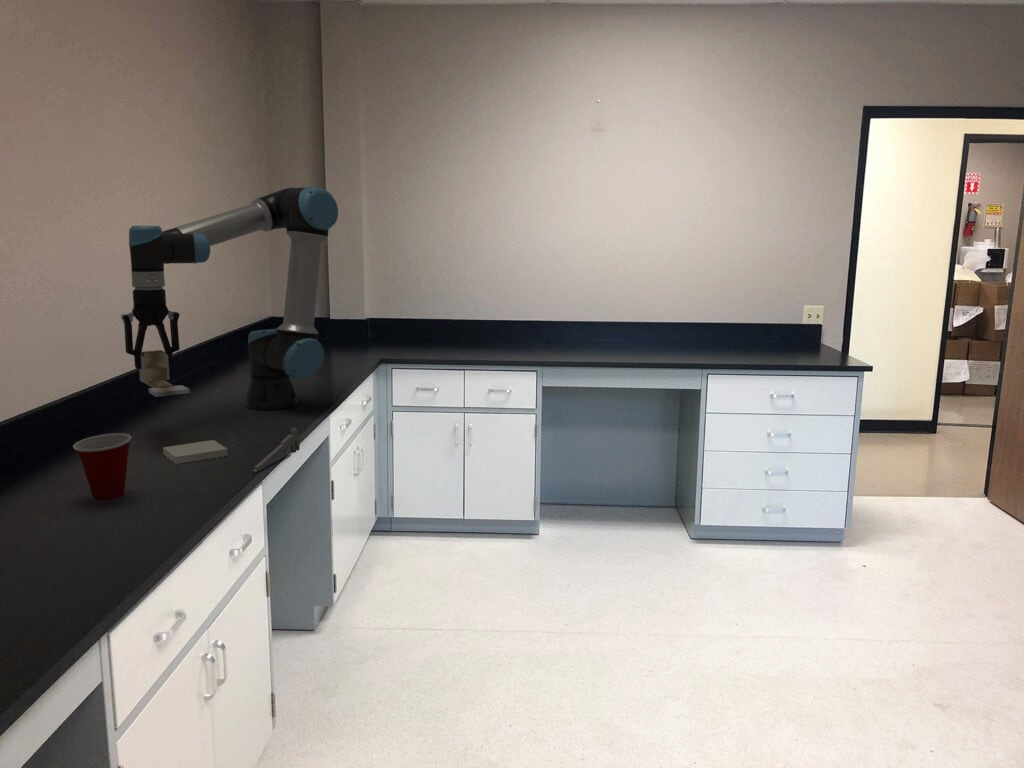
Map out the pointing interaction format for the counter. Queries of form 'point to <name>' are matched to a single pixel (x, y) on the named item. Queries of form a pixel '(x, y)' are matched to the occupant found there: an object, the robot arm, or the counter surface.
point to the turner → (159, 375)
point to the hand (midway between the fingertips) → (154, 380)
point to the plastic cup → (105, 463)
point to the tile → (195, 451)
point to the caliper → (281, 449)
